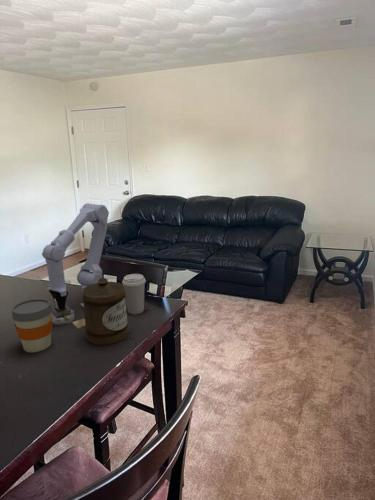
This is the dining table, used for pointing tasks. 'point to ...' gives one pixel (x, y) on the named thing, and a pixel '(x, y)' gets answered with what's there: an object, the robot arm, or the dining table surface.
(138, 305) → the coffee cup
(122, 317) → the wooden container
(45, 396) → the dining table surface
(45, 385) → the dining table surface
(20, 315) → the reusable coffee cup
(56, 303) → the grey block
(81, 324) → the coaster
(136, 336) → the dining table surface
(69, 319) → the grey frying pan
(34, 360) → the dining table surface
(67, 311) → the open square box
